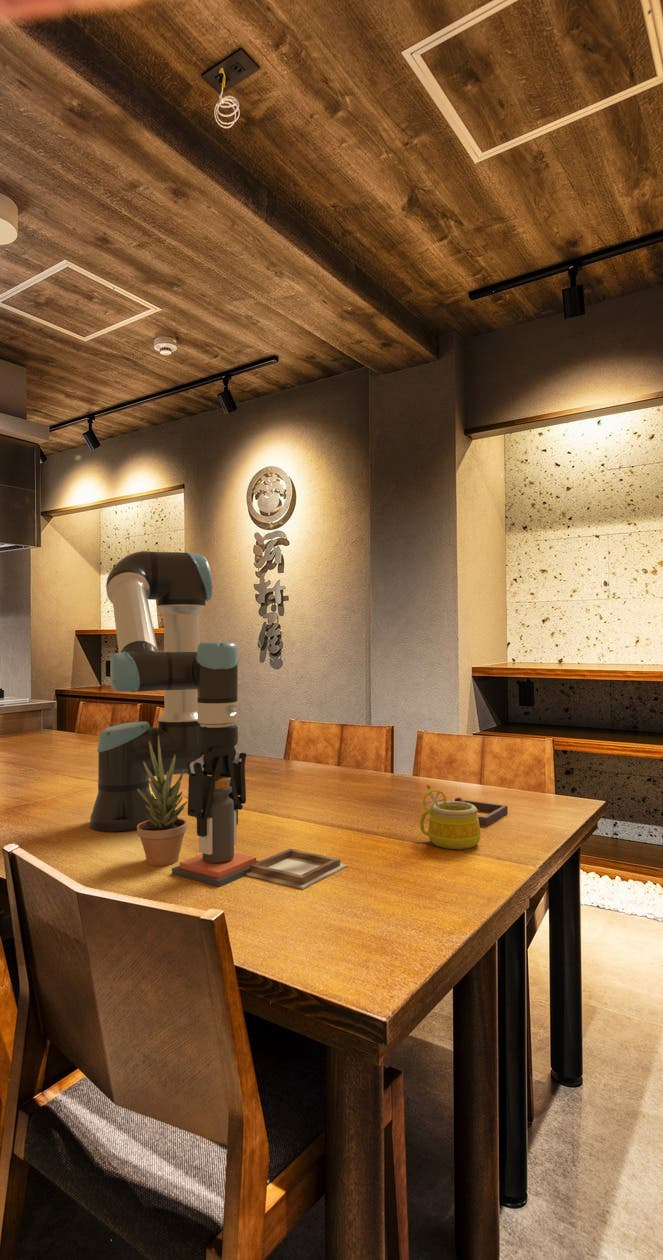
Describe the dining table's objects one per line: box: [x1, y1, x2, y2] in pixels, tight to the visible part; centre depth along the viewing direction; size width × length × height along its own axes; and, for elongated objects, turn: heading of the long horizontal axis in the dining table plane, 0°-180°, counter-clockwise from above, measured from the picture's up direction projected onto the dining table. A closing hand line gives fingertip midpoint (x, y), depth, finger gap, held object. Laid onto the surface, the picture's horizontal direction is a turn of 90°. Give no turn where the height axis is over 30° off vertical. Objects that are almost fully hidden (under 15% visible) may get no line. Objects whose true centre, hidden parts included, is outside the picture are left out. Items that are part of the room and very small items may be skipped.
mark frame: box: [245, 848, 349, 890], centre depth 126 cm, size 14×14×2 cm
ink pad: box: [171, 851, 260, 888], centre depth 126 cm, size 12×12×2 cm
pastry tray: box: [451, 798, 509, 828], centre depth 164 cm, size 14×14×2 cm
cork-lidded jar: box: [202, 775, 235, 863], centre depth 127 cm, size 6×6×15 cm
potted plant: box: [136, 735, 188, 867], centre depth 132 cm, size 10×10×25 cm
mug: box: [419, 784, 481, 850], centre depth 142 cm, size 13×11×12 cm
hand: (218, 848), depth 127 cm, fingers closed on cork-lidded jar, 6 cm apart
